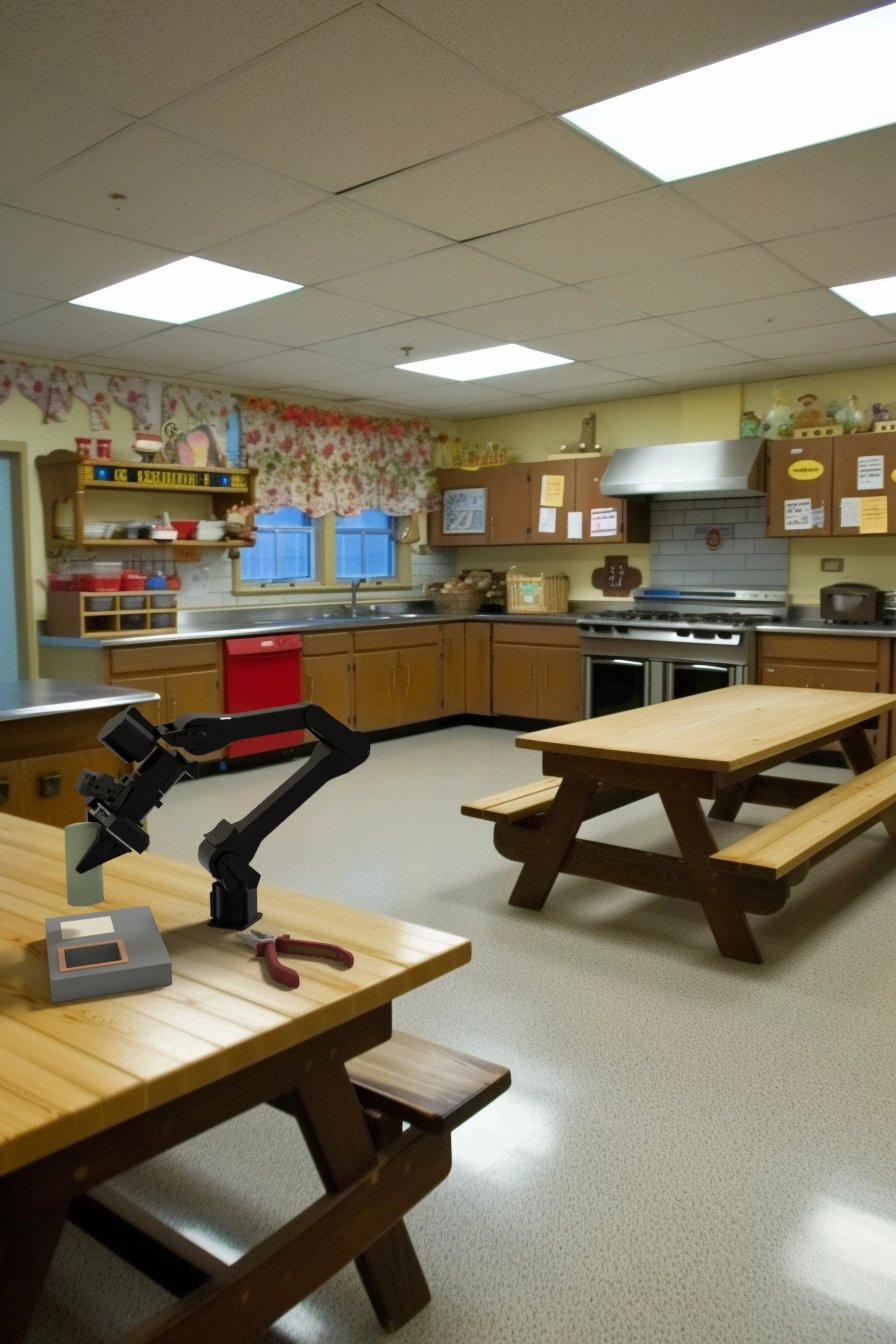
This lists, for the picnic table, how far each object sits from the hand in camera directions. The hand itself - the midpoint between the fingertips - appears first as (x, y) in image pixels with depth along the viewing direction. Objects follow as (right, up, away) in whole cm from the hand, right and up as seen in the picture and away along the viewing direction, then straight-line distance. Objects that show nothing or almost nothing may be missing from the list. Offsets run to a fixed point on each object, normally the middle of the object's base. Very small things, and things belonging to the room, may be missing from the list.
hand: (74, 866), depth 146 cm
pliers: (+32, -13, 0) cm, 35 cm away
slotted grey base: (+5, -13, -2) cm, 14 cm away
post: (+1, -5, +1) cm, 5 cm away
